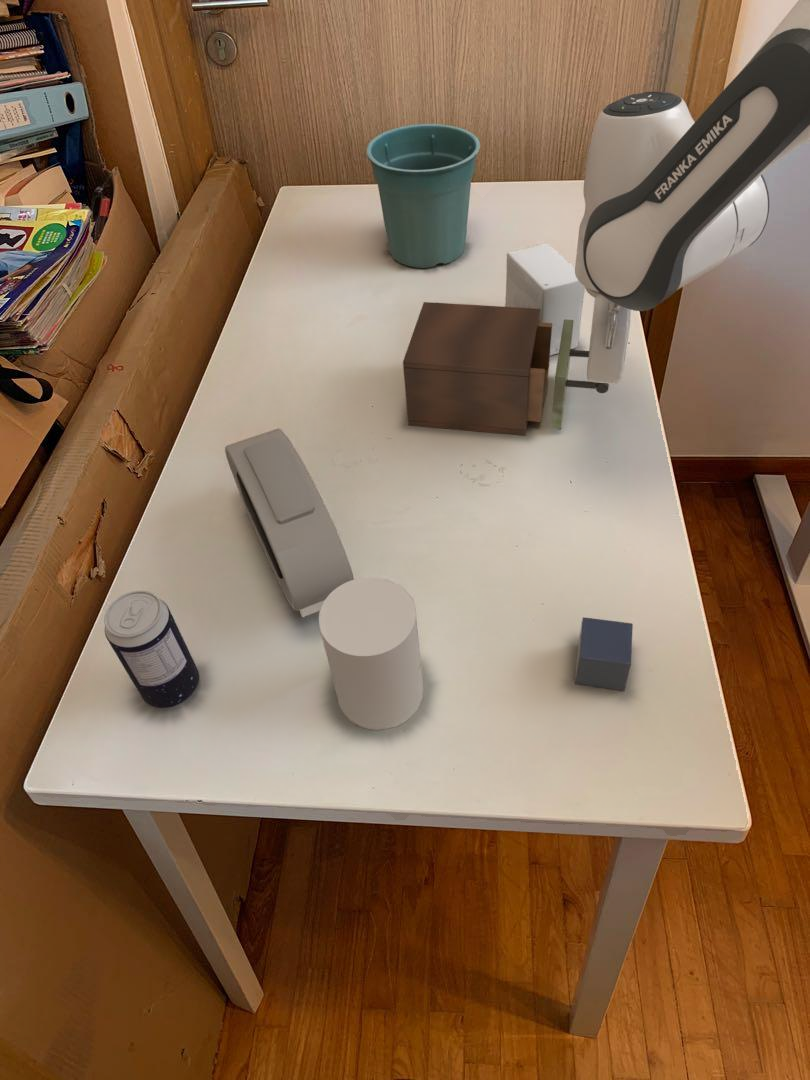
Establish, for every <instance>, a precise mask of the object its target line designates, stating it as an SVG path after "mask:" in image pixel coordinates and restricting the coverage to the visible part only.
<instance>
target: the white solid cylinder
mask: <svg viewBox="0 0 810 1080" xmlns="http://www.w3.org/2000/svg"><path fill="white" fill-rule="evenodd" d="M318 626H319V630H320V635H321V638H322V642H323V646H324V647H323V648H324V650H325V654H326V659H327V662H328V666H329V670H330V673H331V678H332V682H333V687H334V691H335V694H336V698H337V702H338V706H339V708H340V710H341V712H342V713H343V714H344V716H345V717H346V718H347V719H348V720H349V721H350V722H352V723H353V724H354V725H357V726H359V727H360V728H363V729H366V730H375V731H377V730H378V731H380V730H381V731H382V730H389V729H393V728H396V727H398V726H400V725H402V724H404V723H405V722H407V721H408V720H410V719H411V718H412V717H413V716H414V715H415V714H416V712H417V711H418V710H419V708H420V706H421V705H422V701H423V698H424V692H425V691H424V690H425V689H424V679H423V670H422V668H423V667H422V658H421V657H422V656H421V648H420V639H419V638H420V637H419V628H418V627H419V626H418V619H417V607H416V604H415V601H414V599H413V596H412V595H411V594H410V593H409V592H408V590H407V589H405V587H403V586H402V585H401V584H399V583H397V582H395V581H393V580H391V579H388V578H384V577H379V576H366V577H364V576H363V577H359V578H358V577H357V578H354V580H351V581H349V582H346V583H344V584H342V585H341V586H339V587H337V588H336V589H335V590H334V591H332V592H331V593H330V594H329V596H328V597H327V598H326V599H325V601H324V603H323V604H322V607H321V609H320V611H319V613H318Z"/></svg>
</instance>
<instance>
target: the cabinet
mask: <svg viewBox="0 0 810 1080" xmlns="http://www.w3.org/2000/svg"><path fill="white" fill-rule="evenodd" d="M539 322H540V309H535V308H518V307H505V306H499V305H483V304H482V305H481V304H464V303H448V302H431V301H424V302H423V303H422V306H421V309H420V313H419V315H418V318H417V321H416V323H415V326H414V329H413V331H412V334H411V337H410V340H409V344H408V347H407V350H406V352H405V355H404V358H403V361H402V366H403V367H402V368H403V369H402V371H403V380H404V392H405V402H406V403H405V405H406V416H407V425H408V426H412V427H424V428H435V429H447V430H459V431H470V432H480V433H481V432H482V433H492V434H502V435H503V434H504V435H516V436H526V435H527V428H528V424H529V421H527V407H528V389H529V372H530V366H531V361H532V355H533V350H534V344H535V339H536V334H537V328H538V323H539Z"/></svg>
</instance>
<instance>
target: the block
mask: <svg viewBox="0 0 810 1080" xmlns="http://www.w3.org/2000/svg"><path fill="white" fill-rule="evenodd" d="M633 626H634V625H633V623H632V622H623V621H616V620H609V619H608V620H607V619H600V618H592V617H582V620H581V626H580V631H579V632H580V633H579V638H578V644H577V655H576V656H577V657H576V667H575V679H574V684H575V685H578V686H579V685H580V686H586V687H594V688H599V689H600V688H601V689H606V690H607V689H608V690H615V691H622V692H624V691H625V690H626V686H627V682H628V678H629V674H630V671H631V666H632V652H633V649H632V648H633Z"/></svg>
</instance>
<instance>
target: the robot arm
mask: <svg viewBox="0 0 810 1080" xmlns="http://www.w3.org/2000/svg"><path fill="white" fill-rule="evenodd" d="M809 142H810V0H797V2H796V3H795V4H794V5H793V7H792V8H791V9H790V10H789V12H788V13H787V14H786V15H785V16H784V17H783V19H782V20H781V21H780V22H779V23H778V25H777V26H776V27H775V29H774V30H773V31H772V32H771V33H770V35H769V36H768V37H767V38H766V40H765V41H764V42H763V43H762V45H761V46H760V47H759V49H758V50H757V51H756V52H755V53H754V55H753V56H752V57H751V58H750V60H749V62H748V63H746V64H745V66H744V67H743V68H742V69H741V70H740V72H739V73H738V74H737V75H736V76H735V77H734V78H733V79H732V80H731V81H730V83H729V84H727V86H726V87H725V88H724V89H723V90H722V91H721V92H720V94H719V95H718V96H717V97H716V98H715V99H714V100H713V101H712V102H711V103H710V105H709V106H707V108H706V109H705V110H704V111H703V113H702V114H701V115H700V116H699V117H698V118H697V119H696V121H695V120H694V119H693V117H692V114H691V112H690V111H689V108H688V105H687V103H686V101H685V100H684V99H683V98H682V97H680V96H679V95H677V94H675V93H672V92H669V91H655V90H654V91H651V90H650V91H644V92H639V93H631V94H630V95H627V96H624V97H621V98H619V99H617V100H615V101H612V102H611V103H610V104H607V105H606V106H605V107H604V108H603V109H602V110H601V111H600V113H599V114H598V117H597V118H596V121H595V123H594V126H593V130H592V133H591V137H590V142H589V146H588V151H587V156H586V163H585V170H584V171H585V172H584V178H583V179H584V180H583V189H582V191H583V192H582V193H583V199H584V204H585V205H584V213H583V216H582V217H581V221H580V223H579V228H578V234H577V235H578V236H577V243H576V244H577V245H576V255H575V263H574V264H575V265H574V268H575V275H576V278H577V279H578V281H579V282H580V283H581V284H583V285H584V286H585V291H586V292H587V294H589V296H591V297H592V298H594V301H593V311H592V320H591V327H590V328H591V330H590V337H589V340H590V341H589V347H588V351H589V357H587V358H588V359H587V366H586V367H587V368H586V378H587V381H589V382H597V383H609V385H610V384H611V385H612V384H613V385H615V384H619V383H620V382H621V380H622V377H623V372H624V366H625V360H626V355H627V348H628V347H627V346H628V340H629V334H630V325H631V312H632V311H635V312H647V311H649V310H652V309H654V308H656V307H657V306H659V305H660V304H661V303H663V302H664V301H665V300H667V299H669V298H670V297H671V296H673V295H674V294H675V293H676V292H677V291H678V290H680V289H682V288H683V287H685V286H687V285H689V284H690V283H692V282H694V281H695V280H697V279H699V278H700V277H702V276H703V275H705V274H707V273H709V272H710V271H712V270H714V269H715V268H717V267H719V266H720V265H722V264H723V263H726V262H727V261H729V260H730V259H732V258H733V257H735V256H737V255H738V254H740V253H741V252H743V251H744V250H746V249H747V248H749V247H751V246H753V245H754V243H756V241H758V239H759V238H760V237H761V235H762V234H763V232H764V230H765V228H766V226H767V222H768V218H769V212H770V195H769V189H768V185H767V182H766V179H765V178H764V175H763V174H764V173H765V172H767V171H768V170H769V169H770V168H771V167H772V166H774V165H775V164H776V163H778V162H779V161H781V160H782V159H784V158H785V157H786V156H787V155H789V154H790V153H792V152H793V151H795V150H796V149H798V148H800V147H801V146H803V145H805V144H806V143H809Z"/></svg>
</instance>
